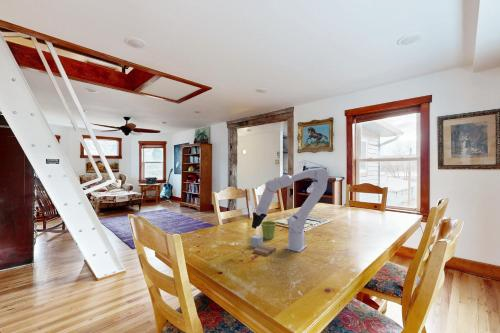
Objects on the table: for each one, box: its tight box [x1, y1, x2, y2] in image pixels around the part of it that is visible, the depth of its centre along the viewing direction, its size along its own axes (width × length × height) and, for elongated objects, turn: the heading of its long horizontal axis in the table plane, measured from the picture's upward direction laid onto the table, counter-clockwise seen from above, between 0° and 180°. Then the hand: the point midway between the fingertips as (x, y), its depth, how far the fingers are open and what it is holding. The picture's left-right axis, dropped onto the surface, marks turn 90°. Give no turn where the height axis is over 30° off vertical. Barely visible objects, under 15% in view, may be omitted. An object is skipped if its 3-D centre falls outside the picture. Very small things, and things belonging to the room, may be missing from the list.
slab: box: [253, 244, 277, 257], centre depth 114 cm, size 8×8×2 cm
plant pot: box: [260, 220, 277, 240], centre depth 135 cm, size 9×9×9 cm
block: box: [250, 234, 264, 249], centre depth 122 cm, size 5×5×5 cm
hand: (255, 226), depth 116 cm, fingers open, 7 cm apart
